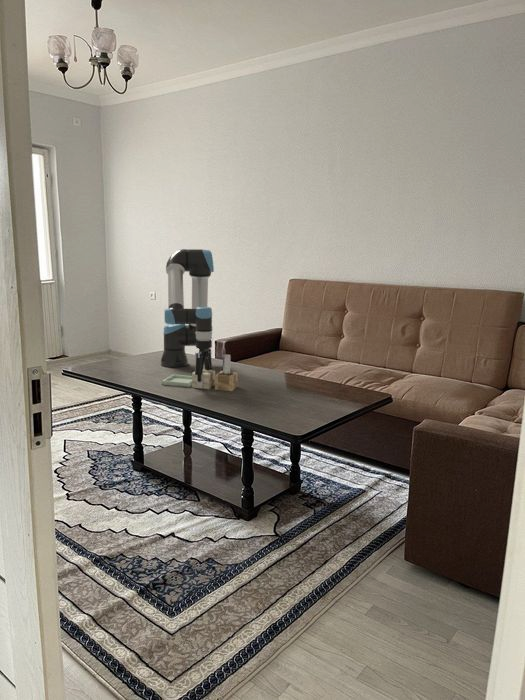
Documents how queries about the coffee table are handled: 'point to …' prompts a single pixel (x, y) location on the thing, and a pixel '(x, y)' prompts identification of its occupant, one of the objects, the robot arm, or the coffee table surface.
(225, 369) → the rod
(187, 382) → the tray
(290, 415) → the coffee table surface
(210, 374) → the birch block
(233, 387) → the oak block
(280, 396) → the coffee table surface
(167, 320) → the robot arm
